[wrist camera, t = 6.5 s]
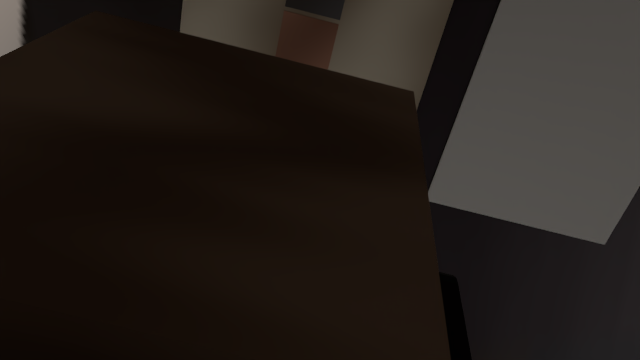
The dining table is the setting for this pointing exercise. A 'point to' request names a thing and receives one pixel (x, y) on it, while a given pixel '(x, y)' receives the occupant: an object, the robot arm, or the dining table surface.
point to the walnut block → (208, 205)
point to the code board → (331, 34)
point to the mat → (550, 119)
